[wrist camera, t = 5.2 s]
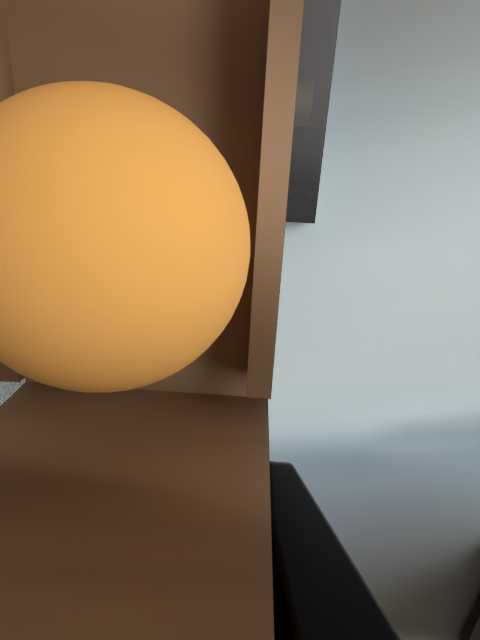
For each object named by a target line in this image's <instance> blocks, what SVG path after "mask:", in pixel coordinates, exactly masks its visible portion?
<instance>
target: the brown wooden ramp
mask: <svg viewBox="0 0 480 640" xmlns="http://www.w3.org/2000/svg"><path fill="white" fill-rule="evenodd" d="M303 6H304V0H0V102H2V101H3V100H5V99H7V98H9V97H11V96H13V95H15V94H17V93H20V92H22V91H25V90H28V89H31V88H34V87H37V86H41V85H45V84H50V83H57V82H66V81H96V82H106V83H111V84H117V85H121V86H124V87H128V88H131V89H134V90H137V91H140V92H143V93H145V94H147V95H150V96H152V97H155V98H156V99H158V100H160V101H162V102H164V103H165V104H167V105H169V106H170V107H172V108H174V109H175V110H177V111H178V112H180V113H181V114H183V115H184V116H185V117H187V118H188V119H189V120H190V121H191V122H192V123H193V124H195V125H196V126H197V127H198V128H199V129H200V130H201V131H202V132H203V133H204V134H205V135H206V136H207V137H208V138H209V139H210V140H211V142H212V143H213V144H214V145H215V147H216V148H217V149H218V151H219V152H220V153H221V155H222V156H223V157H224V159H225V160H226V162H227V164H228V166H229V167H230V169H231V171H232V173H233V175H234V177H235V179H236V181H237V183H238V185H239V188H240V191H241V193H242V196H243V199H244V203H245V207H246V210H247V215H248V221H249V226H250V261H249V267H248V274H247V280H246V284H245V287H244V290H243V293H242V296H241V299H240V301H239V303H238V305H237V307H236V310H235V312H234V314H233V316H232V318H231V320H230V321H229V323H228V324H227V326H226V327H225V329H224V330H223V332H222V333H221V334H220V335H219V336H218V338H217V339H216V340H215V341H214V342H213V343H212V344H211V346H210V347H209V348H208V349H207V350H206V351H205V352H204V353H202V354H201V355H200V356H199V357H198V358H197V359H196V360H194V361H193V362H192V363H190V364H189V365H187V366H186V367H184V368H183V369H181V370H180V371H178V372H176V373H175V374H173V375H171V376H169V377H167V378H165V379H163V380H160V381H158V382H155V383H152V384H150V385H147V386H143V387H139V388H135V389H131V390H126V391H118V392H110V393H84V392H77V391H69V390H63V389H60V388H56V387H52V386H49V385H45V384H42V383H39V382H37V381H34V380H32V379H30V378H27V377H25V376H23V375H20V374H18V373H17V372H15V371H14V370H12V369H10V368H9V367H7V366H6V365H4V364H3V363H1V362H0V381H9V382H20V381H21V380H22V379H23V378H24V377H25V378H26V382H25V383H24V384H23V385H22V386H21V387H20V388H19V389H18V390H17V391H16V392H15V393H14V394H13V395H12V396H11V397H10V398H9V399H7V400H6V401H5V402H4V403H3V404H2V405H1V406H0V640H274V613H273V575H272V538H271V501H270V464H269V426H268V399H271V389H272V377H273V365H274V353H275V341H276V329H277V317H278V305H279V294H280V282H281V270H282V258H283V246H284V234H285V222H286V210H287V198H288V186H289V174H290V162H291V150H292V138H293V126H309V124H310V119H311V113H312V105H313V94H314V79H313V78H298V66H299V54H300V42H301V30H302V18H303Z"/></svg>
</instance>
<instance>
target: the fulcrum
mask: <svg viewBox="0 0 480 640" xmlns="http://www.w3.org/2000/svg"><path fill="white" fill-rule="evenodd" d="M340 5H341V0H304V6H303V18H302V30H301V42H300V54H299V66H298V78H313V79H314V94H313V105H312V113H311V119H310V124H309V126H293V138H292V150H291V162H290V174H289V186H288V198H287V210H286V222H302V223H315V216H316V207H317V199H318V190H319V182H320V174H321V165H322V157H323V148H324V140H325V131H326V123H327V115H328V106H329V98H330V89H331V81H332V72H333V64H334V55H335V47H336V39H337V30H338V22H339V13H340Z"/></svg>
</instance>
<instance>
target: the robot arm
mask: <svg viewBox="0 0 480 640" xmlns="http://www.w3.org/2000/svg"><path fill="white" fill-rule="evenodd" d="M269 464H270V501H271V538H272V575H273V613H274V640H401V639H400V638H399V636H398V634H397V633H396V631H395V630H394V628H393V626H392V625H391V623H390V621H389V620H388V618H387V617H386V615H385V613H384V612H383V610H382V609H381V607H380V605H379V604H378V602H377V600H376V599H375V597H374V596H373V594H372V592H371V591H370V589H369V587H368V586H367V584H366V583H365V581H364V579H363V578H362V576H361V575H360V573H359V571H358V570H357V568H356V566H355V565H354V563H353V562H352V560H351V558H350V557H349V555H348V553H347V552H346V550H345V549H344V547H343V545H342V544H341V542H340V541H339V539H338V537H337V536H336V534H335V532H334V531H333V529H332V528H331V526H330V524H329V523H328V521H327V519H326V518H325V516H324V515H323V513H322V511H321V510H320V508H319V507H318V505H317V503H316V502H315V500H314V498H313V497H312V495H311V494H310V492H309V490H308V489H307V487H306V485H305V484H304V482H303V481H302V479H301V477H300V476H299V474H298V473H297V471H296V469H295V468H294V466H293V465H292V464H291V463H288V462H274V461H270V462H269ZM460 640H480V595H479V597H478V599H477V602H476V604H475V606H474V608H473V611H472V613H471V615H470V617H469V620H468V622H467V624H466V627H465V629H464V631H463V633H462V636H461V638H460Z"/></svg>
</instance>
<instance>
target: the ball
mask: <svg viewBox="0 0 480 640" xmlns="http://www.w3.org/2000/svg"><path fill="white" fill-rule="evenodd" d="M249 261H250V226H249V221H248V215H247V210H246V207H245V203H244V199H243V196H242V193H241V191H240V188H239V185H238V183H237V181H236V179H235V177H234V175H233V173H232V171H231V169H230V167H229V166H228V164H227V162H226V160H225V159H224V157H223V156H222V155H221V153H220V152H219V151H218V149H217V148H216V147H215V145H214V144H213V143H212V142H211V140H210V139H209V138H208V137H207V136H206V135H205V134H204V133H203V132H202V131H201V130H200V129H199V128H198V127H197V126H196V125H195V124H193V123H192V122H191V121H190V120H189V119H188V118H187V117H185V116H184V115H183V114H181V113H180V112H178V111H177V110H175V109H174V108H172V107H170V106H169V105H167V104H165V103H164V102H162V101H160V100H158V99H156V98H155V97H152V96H150V95H147V94H145V93H143V92H140V91H137V90H134V89H131V88H128V87H124V86H121V85H117V84H111V83H106V82H96V81H66V82H57V83H50V84H45V85H41V86H37V87H34V88H31V89H28V90H25V91H22V92H20V93H17V94H15V95H13V96H11V97H9V98H7V99H5V100H3V101H2V102H0V362H1V363H3V364H4V365H6V366H7V367H9V368H10V369H12V370H14V371H15V372H17V373H18V374H20V375H23V376H25V377H27V378H30V379H32V380H34V381H37V382H39V383H42V384H45V385H49V386H52V387H56V388H60V389H63V390H69V391H77V392H84V393H110V392H118V391H126V390H131V389H135V388H139V387H143V386H147V385H150V384H152V383H155V382H158V381H160V380H163V379H165V378H167V377H169V376H171V375H173V374H175V373H176V372H178V371H180V370H181V369H183V368H184V367H186V366H187V365H189V364H190V363H192V362H193V361H194V360H196V359H197V358H198V357H199V356H200V355H201V354H202V353H204V352H205V351H206V350H207V349H208V348H209V347H210V346H211V344H212V343H213V342H214V341H215V340H216V339H217V338H218V336H219V335H220V334H221V333H222V332H223V330H224V329H225V327H226V326H227V324H228V323H229V321H230V320H231V318H232V316H233V314H234V312H235V310H236V307H237V305H238V303H239V301H240V299H241V296H242V293H243V290H244V287H245V284H246V280H247V274H248V267H249Z"/></svg>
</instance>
